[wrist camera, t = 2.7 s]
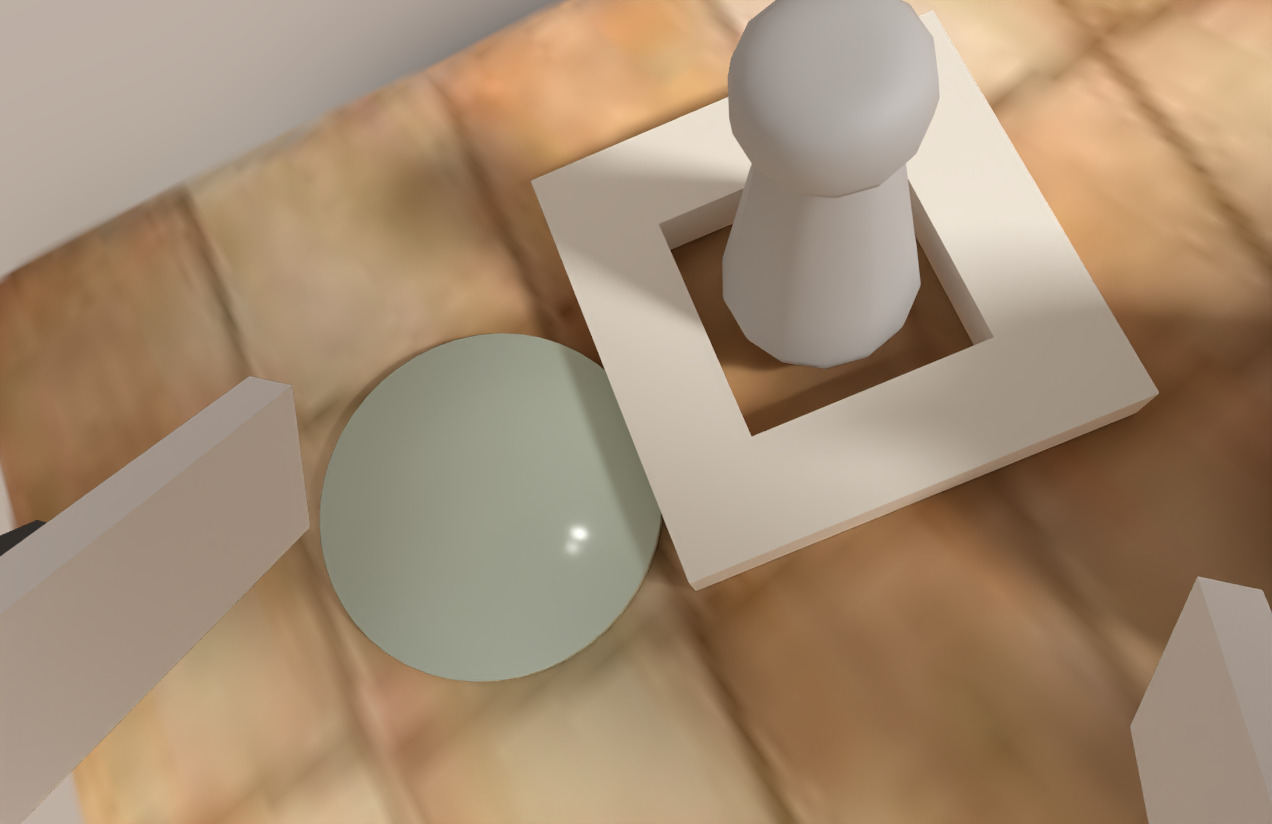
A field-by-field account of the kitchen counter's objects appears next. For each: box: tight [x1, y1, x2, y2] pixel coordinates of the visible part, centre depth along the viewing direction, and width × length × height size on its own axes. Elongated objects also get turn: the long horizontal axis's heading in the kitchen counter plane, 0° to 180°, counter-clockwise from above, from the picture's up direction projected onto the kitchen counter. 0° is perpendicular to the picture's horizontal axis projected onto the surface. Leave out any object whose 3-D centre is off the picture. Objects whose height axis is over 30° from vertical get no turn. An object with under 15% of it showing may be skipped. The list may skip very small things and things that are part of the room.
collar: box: [531, 10, 1159, 591], centre depth 31 cm, size 14×14×2 cm
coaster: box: [320, 333, 662, 682], centre depth 31 cm, size 11×11×1 cm
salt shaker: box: [722, 0, 940, 369], centre depth 25 cm, size 6×6×13 cm
